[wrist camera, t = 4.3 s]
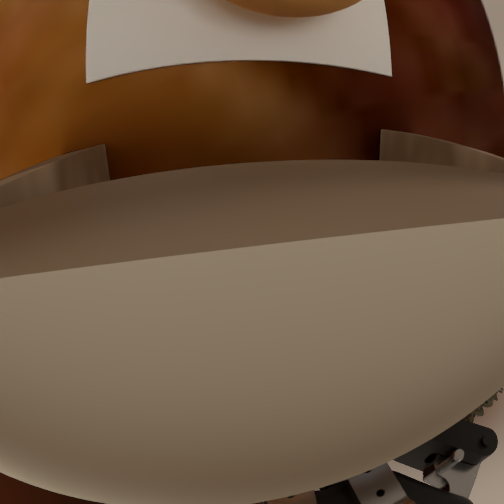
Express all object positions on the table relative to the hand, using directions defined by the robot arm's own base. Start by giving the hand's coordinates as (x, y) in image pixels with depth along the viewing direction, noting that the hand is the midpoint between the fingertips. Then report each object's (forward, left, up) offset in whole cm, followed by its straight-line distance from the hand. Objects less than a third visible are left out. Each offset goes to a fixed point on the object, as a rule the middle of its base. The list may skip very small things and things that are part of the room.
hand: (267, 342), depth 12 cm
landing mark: (-17, 0, -2) cm, 18 cm away
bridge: (-7, 0, -2) cm, 8 cm away
